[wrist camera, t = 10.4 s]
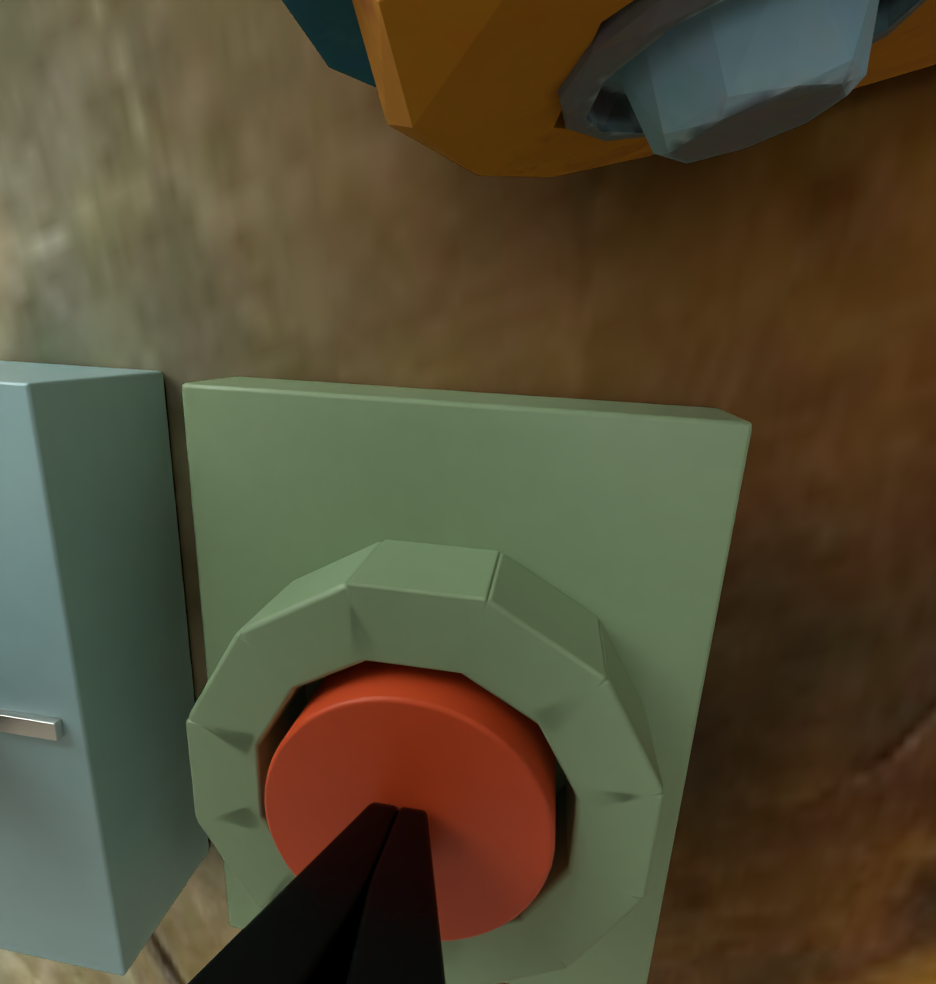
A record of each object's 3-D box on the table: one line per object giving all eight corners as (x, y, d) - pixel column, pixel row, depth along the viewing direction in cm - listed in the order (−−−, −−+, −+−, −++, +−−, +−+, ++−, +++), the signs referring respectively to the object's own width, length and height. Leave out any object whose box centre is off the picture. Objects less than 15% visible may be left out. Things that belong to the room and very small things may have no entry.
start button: (313, 825, 11) (269, 913, 9) (307, 619, 10) (254, 678, 8) (544, 865, 10) (541, 968, 9) (567, 651, 9) (570, 723, 7)
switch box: (265, 860, 14) (175, 1021, 11) (235, 375, 11) (92, 393, 8) (632, 928, 13) (657, 1133, 10) (722, 407, 10) (808, 445, 6)
